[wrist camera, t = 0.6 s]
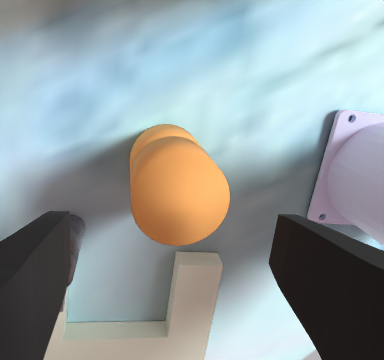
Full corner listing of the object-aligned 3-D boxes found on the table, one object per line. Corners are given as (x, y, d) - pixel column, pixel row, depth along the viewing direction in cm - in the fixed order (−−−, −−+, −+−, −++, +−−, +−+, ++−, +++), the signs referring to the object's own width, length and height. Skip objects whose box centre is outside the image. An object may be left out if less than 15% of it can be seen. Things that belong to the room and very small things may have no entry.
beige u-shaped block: (217, 252, 24) (223, 265, 22) (198, 350, 27) (202, 367, 25) (35, 247, 21) (29, 261, 20) (36, 356, 24) (30, 376, 22)
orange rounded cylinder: (205, 128, 20) (238, 158, 14) (194, 194, 22) (220, 247, 16) (132, 120, 19) (135, 148, 13) (126, 190, 21) (126, 244, 15)
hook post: (85, 215, 21) (73, 260, 16) (83, 257, 22) (71, 312, 17) (54, 214, 20) (34, 259, 16) (54, 257, 21) (34, 312, 17)
